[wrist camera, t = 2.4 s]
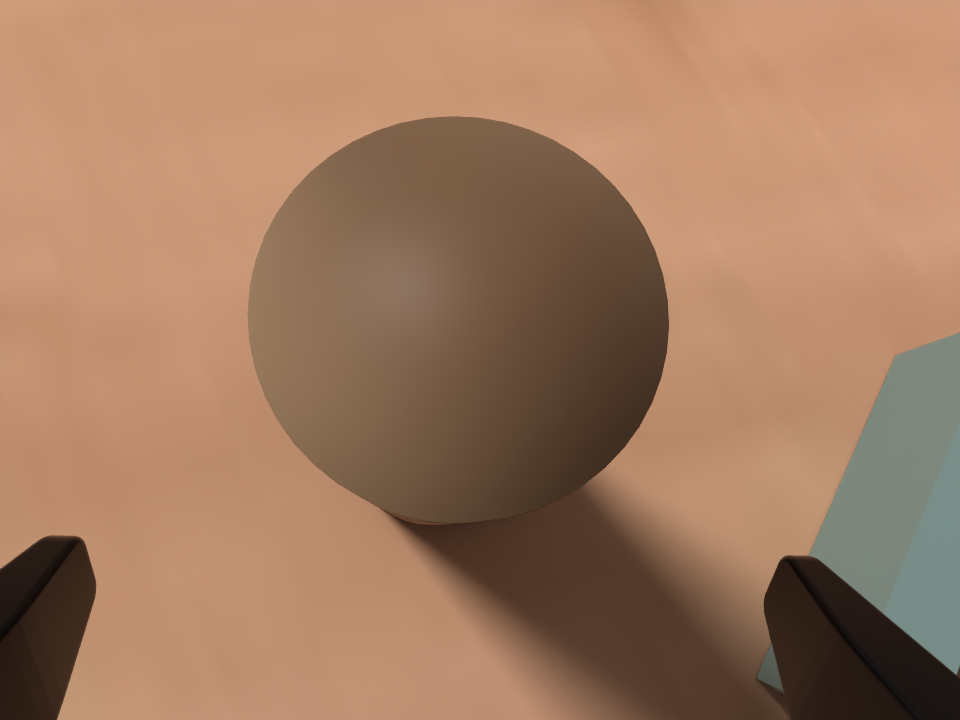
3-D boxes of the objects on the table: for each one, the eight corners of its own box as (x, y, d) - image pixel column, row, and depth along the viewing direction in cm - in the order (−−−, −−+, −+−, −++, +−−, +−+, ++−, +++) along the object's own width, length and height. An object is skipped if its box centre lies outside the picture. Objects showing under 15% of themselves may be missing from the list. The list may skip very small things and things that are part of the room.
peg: (438, 561, 19) (482, 619, 7) (315, 447, 20) (154, 316, 7) (547, 435, 20) (748, 298, 8) (428, 329, 21) (448, 43, 8)
